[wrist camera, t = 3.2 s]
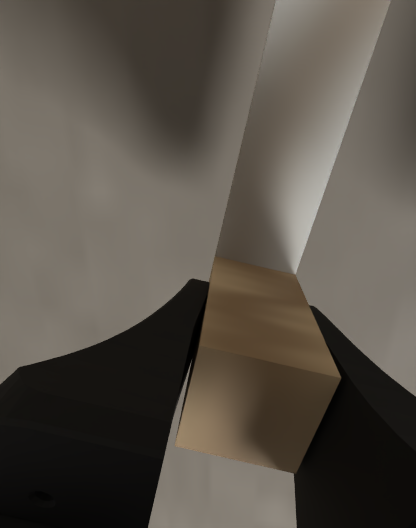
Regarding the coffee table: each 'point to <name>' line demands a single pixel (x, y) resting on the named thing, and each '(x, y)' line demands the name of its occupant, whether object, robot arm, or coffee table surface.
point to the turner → (277, 243)
